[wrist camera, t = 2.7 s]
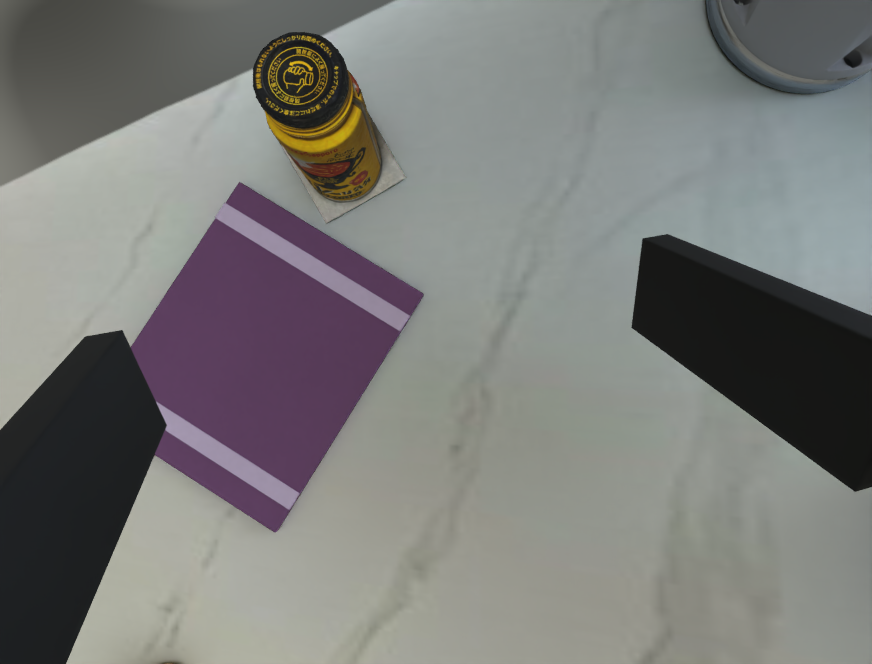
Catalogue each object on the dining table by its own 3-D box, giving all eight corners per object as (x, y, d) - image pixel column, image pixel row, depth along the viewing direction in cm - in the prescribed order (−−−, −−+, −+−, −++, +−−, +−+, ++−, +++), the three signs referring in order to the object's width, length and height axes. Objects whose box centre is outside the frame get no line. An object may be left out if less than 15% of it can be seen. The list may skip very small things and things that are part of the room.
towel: (242, 184, 37) (238, 181, 36) (423, 294, 36) (423, 293, 36) (93, 411, 36) (86, 412, 35) (278, 530, 35) (274, 533, 34)
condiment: (326, 224, 37) (271, 156, 25) (275, 134, 37) (197, 26, 25) (406, 178, 37) (390, 89, 25) (354, 90, 38) (313, -38, 26)
